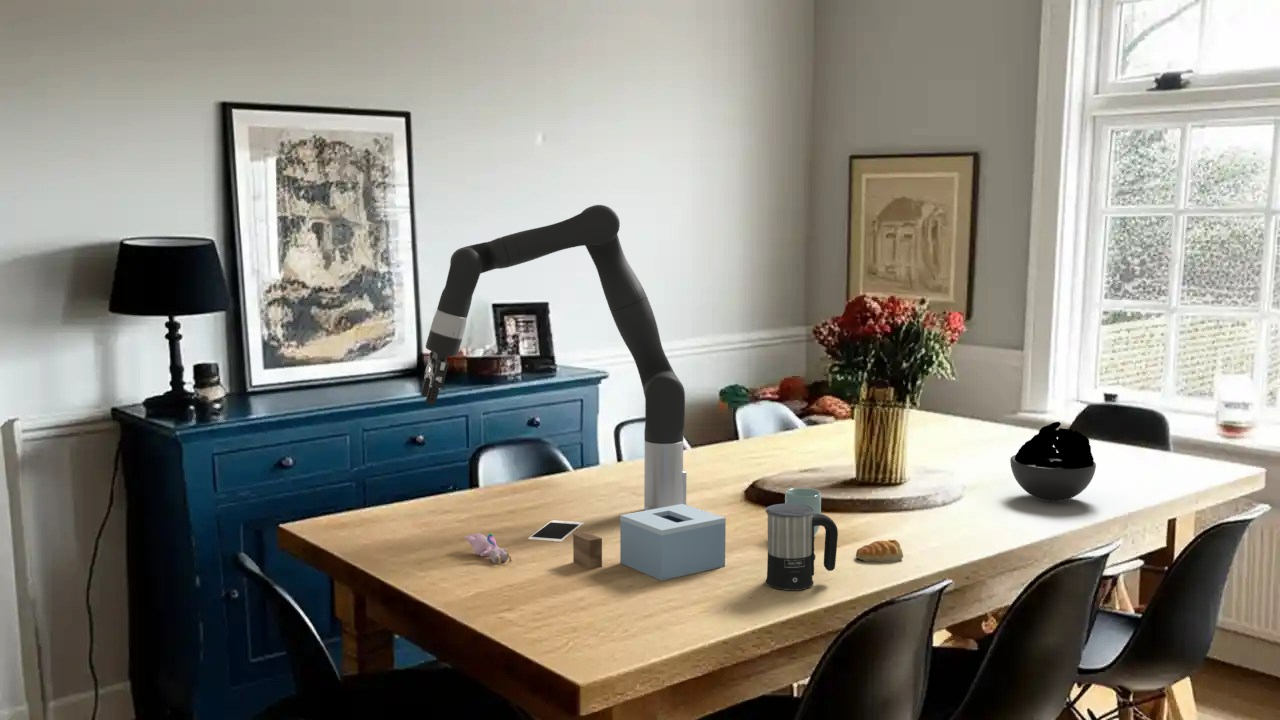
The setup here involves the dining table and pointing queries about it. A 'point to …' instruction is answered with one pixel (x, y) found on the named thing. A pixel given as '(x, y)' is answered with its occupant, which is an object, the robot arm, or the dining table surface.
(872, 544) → the pastry
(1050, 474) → the bowl of black rocks
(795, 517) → the milk frother
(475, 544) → the rabbit figure
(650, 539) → the box
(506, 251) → the robot arm
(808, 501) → the cup
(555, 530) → the cell phone
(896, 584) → the dining table surface
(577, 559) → the wooden rectangular block
